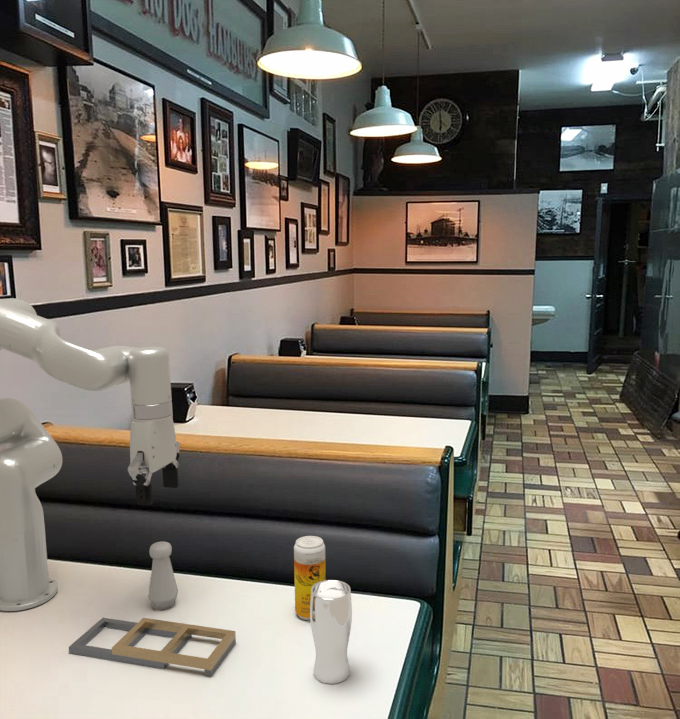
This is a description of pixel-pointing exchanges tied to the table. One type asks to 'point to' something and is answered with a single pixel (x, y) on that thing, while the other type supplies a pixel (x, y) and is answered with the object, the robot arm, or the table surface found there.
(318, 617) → the beer glass
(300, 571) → the beer can
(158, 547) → the salt shaker
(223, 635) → the gold rectangular frame
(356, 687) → the table surface
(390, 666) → the table surface
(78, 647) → the grey rectangular frame
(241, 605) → the table surface
